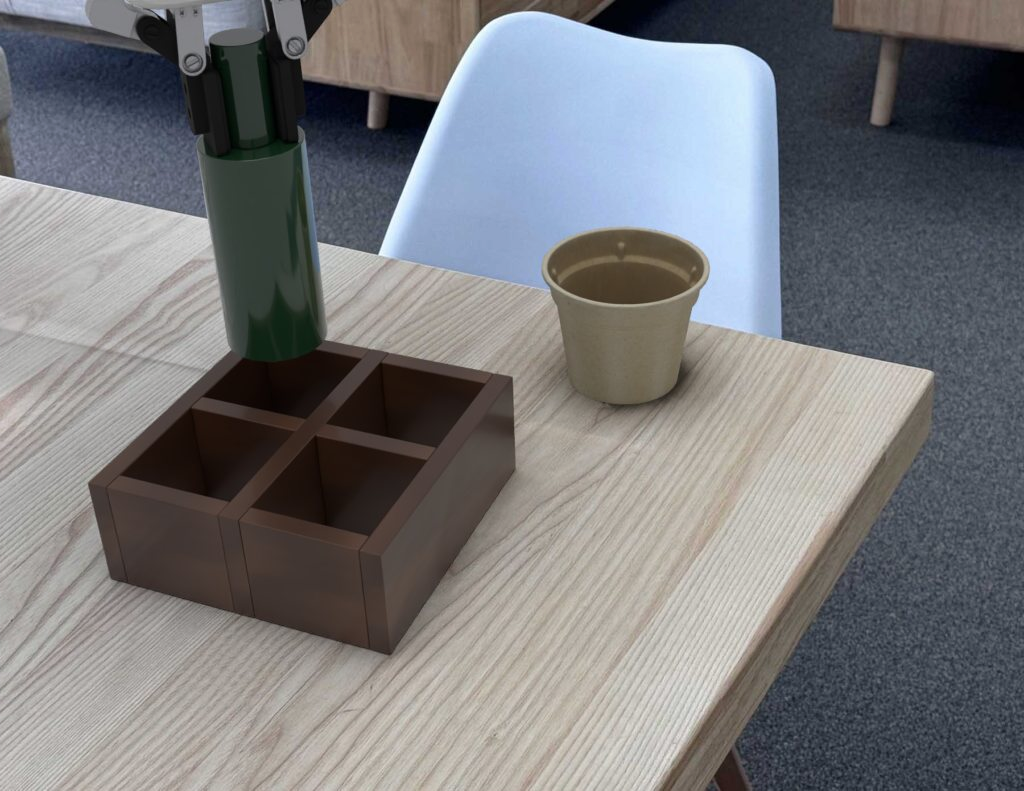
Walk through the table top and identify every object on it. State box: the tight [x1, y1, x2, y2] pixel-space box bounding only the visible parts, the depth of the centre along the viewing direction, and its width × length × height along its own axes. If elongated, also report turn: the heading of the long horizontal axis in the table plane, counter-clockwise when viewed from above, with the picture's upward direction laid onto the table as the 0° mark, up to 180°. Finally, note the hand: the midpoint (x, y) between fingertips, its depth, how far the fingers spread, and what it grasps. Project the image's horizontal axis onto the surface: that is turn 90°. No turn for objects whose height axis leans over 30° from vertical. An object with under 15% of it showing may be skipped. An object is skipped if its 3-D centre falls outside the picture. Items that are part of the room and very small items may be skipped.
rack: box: [87, 339, 517, 655], centre depth 72 cm, size 16×16×6 cm
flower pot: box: [540, 226, 711, 405], centre depth 81 cm, size 9×9×9 cm
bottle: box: [195, 27, 329, 362], centre depth 69 cm, size 5×5×16 cm
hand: (250, 135), depth 67 cm, fingers closed on bottle, 2 cm apart
